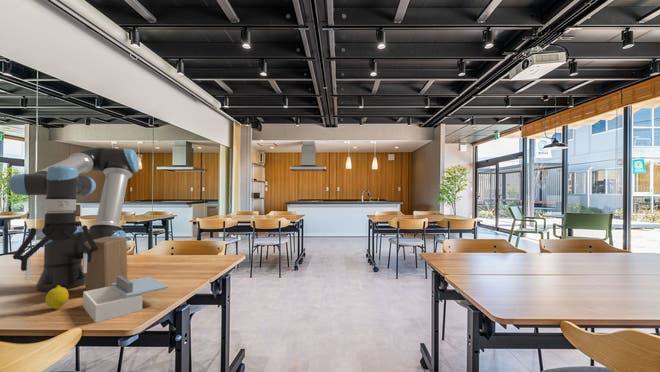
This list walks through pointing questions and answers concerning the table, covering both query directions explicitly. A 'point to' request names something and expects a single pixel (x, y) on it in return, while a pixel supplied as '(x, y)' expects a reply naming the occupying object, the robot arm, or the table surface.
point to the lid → (137, 286)
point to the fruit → (57, 297)
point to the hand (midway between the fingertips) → (57, 276)
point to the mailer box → (110, 303)
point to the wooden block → (106, 262)
